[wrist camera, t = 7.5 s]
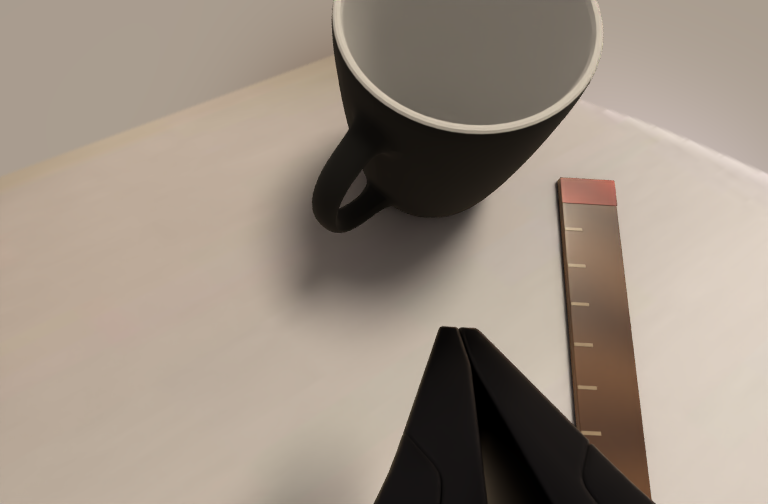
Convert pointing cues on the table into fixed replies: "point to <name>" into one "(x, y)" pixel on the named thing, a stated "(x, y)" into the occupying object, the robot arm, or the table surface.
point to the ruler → (601, 327)
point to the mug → (449, 98)
